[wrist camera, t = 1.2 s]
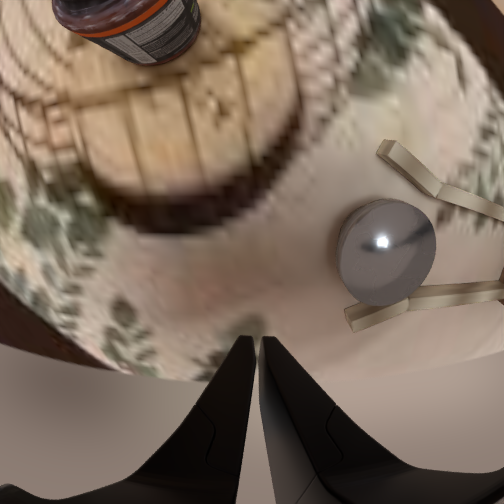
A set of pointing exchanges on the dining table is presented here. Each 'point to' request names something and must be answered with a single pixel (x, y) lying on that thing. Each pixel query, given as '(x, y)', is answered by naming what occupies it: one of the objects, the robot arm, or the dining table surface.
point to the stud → (385, 251)
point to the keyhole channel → (437, 294)
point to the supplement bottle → (133, 26)
